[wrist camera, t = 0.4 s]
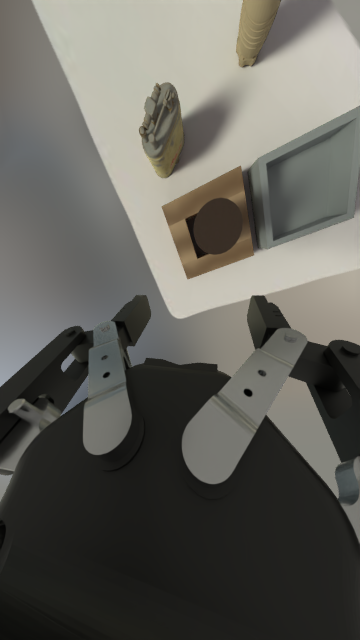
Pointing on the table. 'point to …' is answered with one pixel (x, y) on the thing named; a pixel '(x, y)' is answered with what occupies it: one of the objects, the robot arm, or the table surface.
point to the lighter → (162, 129)
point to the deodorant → (218, 226)
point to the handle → (254, 28)
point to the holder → (189, 207)
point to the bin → (307, 182)
